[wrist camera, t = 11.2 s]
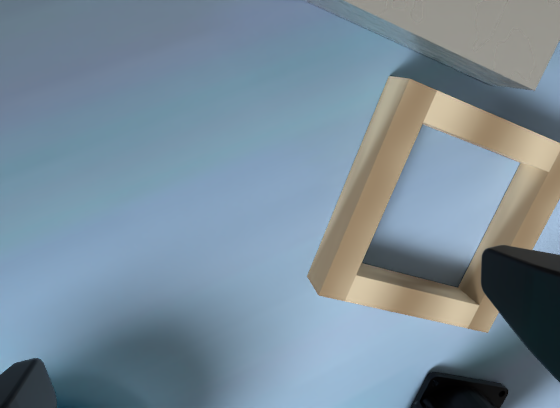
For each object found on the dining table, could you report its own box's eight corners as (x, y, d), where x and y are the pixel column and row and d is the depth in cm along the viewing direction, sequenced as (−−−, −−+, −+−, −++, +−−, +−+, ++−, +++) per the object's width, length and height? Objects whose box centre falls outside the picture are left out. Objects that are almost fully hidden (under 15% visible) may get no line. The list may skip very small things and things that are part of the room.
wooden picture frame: (553, 145, 25) (583, 153, 23) (466, 313, 28) (487, 332, 26) (389, 75, 21) (410, 78, 20) (307, 276, 24) (318, 295, 22)
